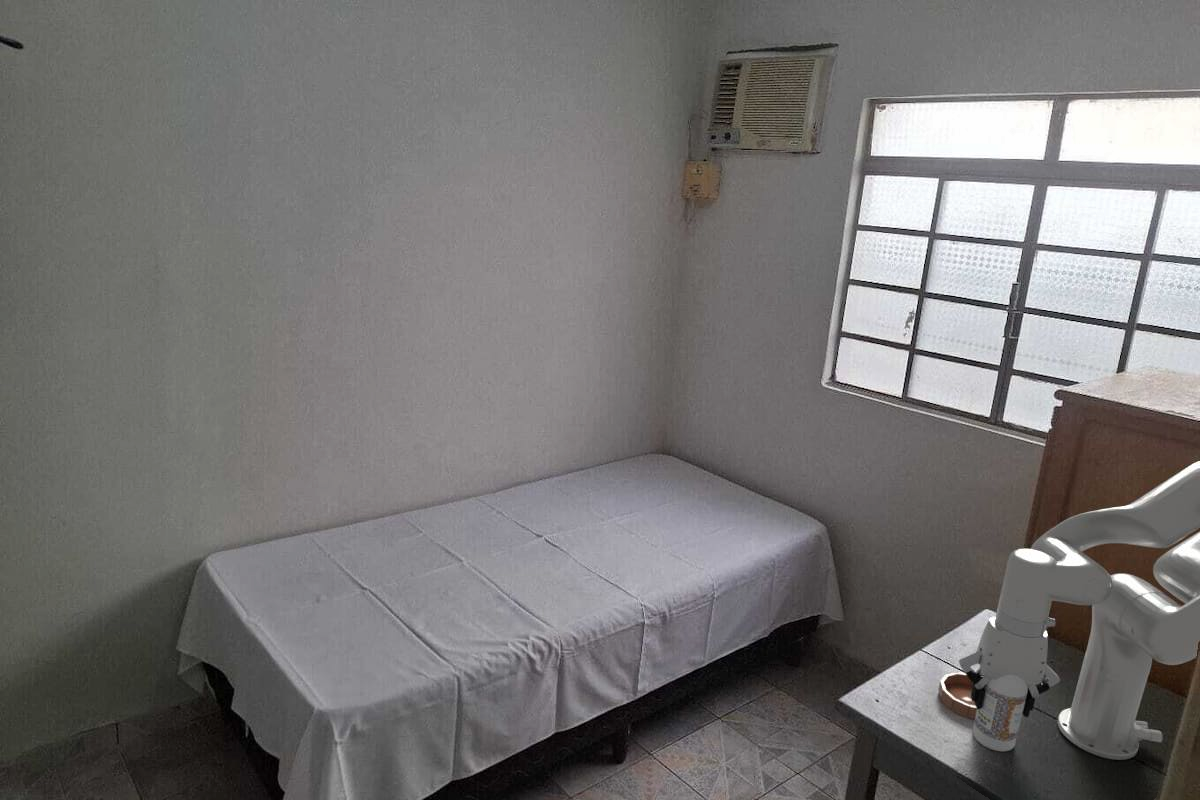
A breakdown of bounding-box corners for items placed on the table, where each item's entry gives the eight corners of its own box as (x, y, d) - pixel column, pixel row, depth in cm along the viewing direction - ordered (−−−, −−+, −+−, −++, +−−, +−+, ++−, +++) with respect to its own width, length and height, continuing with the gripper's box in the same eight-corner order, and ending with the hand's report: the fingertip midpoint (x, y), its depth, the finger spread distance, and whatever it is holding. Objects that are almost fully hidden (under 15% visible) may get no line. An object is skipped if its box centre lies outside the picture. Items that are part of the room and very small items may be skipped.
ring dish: (991, 689, 156) (993, 677, 155) (1005, 724, 146) (1008, 713, 145) (934, 679, 158) (936, 668, 157) (944, 714, 148) (947, 703, 147)
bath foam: (1000, 758, 138) (1023, 659, 132) (963, 734, 143) (984, 638, 137) (1022, 744, 141) (1045, 647, 135) (986, 721, 147) (1007, 627, 141)
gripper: (1068, 616, 137) (1046, 703, 142) (961, 601, 140) (943, 686, 145) (1084, 641, 130) (1060, 731, 135) (971, 624, 133) (952, 713, 138)
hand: (1000, 707), depth 140 cm, fingers closed on bath foam, 7 cm apart
